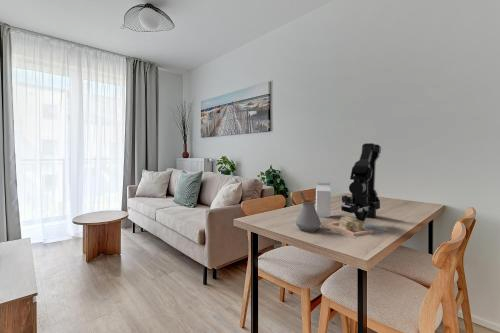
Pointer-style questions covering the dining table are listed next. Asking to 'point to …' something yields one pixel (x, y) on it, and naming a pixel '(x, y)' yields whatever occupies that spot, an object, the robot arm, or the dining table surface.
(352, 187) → the robot arm
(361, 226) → the t block
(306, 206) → the coffee pot
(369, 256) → the dining table surface
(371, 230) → the board
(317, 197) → the milk carton
